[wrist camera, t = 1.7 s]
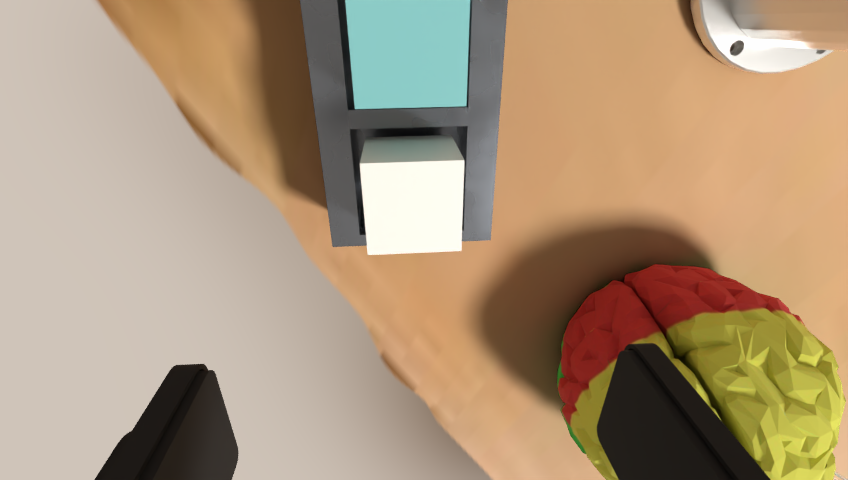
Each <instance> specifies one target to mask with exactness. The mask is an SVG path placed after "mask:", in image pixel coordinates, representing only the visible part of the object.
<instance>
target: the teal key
mask: <svg viewBox="0 0 848 480" xmlns="http://www.w3.org/2000/svg"><path fill="white" fill-rule="evenodd" d="M345 3H346V14H347V26H348V37H349V49H350V60H351V71H352V83H353V94H354V105H355V109H380V108H420V107H459V106H466V104H467V76H468V47H469V18H470V0H345Z"/></svg>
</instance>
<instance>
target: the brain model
mask: <svg viewBox="0 0 848 480" xmlns="http://www.w3.org/2000/svg"><path fill="white" fill-rule="evenodd" d="M640 343H654V344H656V345H657V346H659V347H660V348H661V350H662V351H663V352H664V353H665V354H666V356H667V357H668V358H669V359H670V360H671V362H672V363H673V364H674V365H675V366H676V367H677V369H678V370H679V371H680V372H681V373H682V375H683V376H684V377H685V378H686V379H687V381H688V382H689V383H690V384H691V385H692V387H693V388H694V389H695V390H696V391H697V392H698V394H699V395H700V396H701V397H702V398H703V400H704V401H705V402H706V403H707V404H708V406H709V407H710V408H711V409H712V410H713V412H714V413H715V414H716V415H717V416H718V417H719V419H720V420H721V421H722V422H723V423H724V425H725V426H726V427H727V428H728V429H729V431H730V432H731V433H732V434H733V435H734V436H735V438H736V439H737V440H738V441H739V442H740V444H741V445H742V446H743V447H744V448H745V450H746V451H747V452H748V453H749V454H750V456H751V457H752V458H753V459H754V460H755V461H756V463H757V464H758V465H759V466H760V467H761V469H762V470H763V471H764V472H765V473H766V475H767V476H768V477H769V478H770V479H771V480H833V478H834V474H835V470H836V467H835V457H834V455H833V453H832V451H833V449H834V448H835V446H836V445H837V443H838V434H839V426H840V422H841V418H842V414H843V410H844V406H845V402H846V400H845V397H844V394H843V390H842V383H841V380H840V378H839V376H838V374H837V372H836V371H837V369H838V365H837V362H836V360H835V357H834V355H833V352H832V351H831V350H830V349H829V348H828V347H827V346H825V345H824V344H823V343H822V342H821V341H819V340H818V339H817V338H816V337H815V336H814V335H812V334H811V333H810V332H809V331H808V330H807V328H806V327H805V325H804V323H803V322H802V320H801V319H800V317H799V316H798V315H794V314H791V312H789V308H788V307H787V306H786V305H785V304H784V303H782V302H781V301H780V300H779V299H778V298H774V297H771V296H767V295H764V294H760V293H757V292H755V291H753V290H751V289H750V288H748V287H746V286H744V285H743V284H741V283H739V282H737V281H736V280H733V279H730V278H727V277H724V276H721V275H719V274H718V273H716V272H714V271H713V270H711V269H707V268H701V267H695V266H671V265H660V264H654V265H652V266H650V267H648V268H646V269H644V270H641V271H638V272H634V273H629V274H626V275H625V278H624V283H623V282H620V281H615V280H613V281H611V282H610V283H609V284H608V285H606V286H605V287H604V288H602V289H600V290H598V291H596V292H594V293H591V294H590V295H589V296H588V297H587V298H586V299H585V301H584V302H583V304H582V305H581V306H580V308H579V309H578V311H577V312H576V313H575V315H574V316H573V317H572V319H571V320H570V322H569V323H568V325H567V328H566V331H565V333H564V335H563V340H562V344H561V353H562V358H561V361H560V365H559V368H558V374H557V386H558V394H559V396H560V398H561V399H562V401H563V402H564V403H566V404H565V405H564V406H563V407H562V408H561V413H562V415H563V417H564V420H565V422H566V424H567V427H568V430H569V433H570V436H571V437H572V438H573V440H574V441H575V442H576V444H577V445H578V447H579V448H580V449H581V451H582V452H583V453H585V454H586V455H587V457H588V458H589V460H590V461H591V462H592V463H593V465H594V466H595V467H596V468H597V470H598V471H599V472H600V473H601V475H602V476H603V477H604V478H605V479H606V480H619V479H618V477H617V475H616V473H615V471H614V469H613V468H612V466H611V464H610V462H609V460H608V458H607V456H606V454H605V452H604V450H603V448H602V446H601V444H600V442H599V439H598V436H597V424H598V420H599V417H600V414H601V410H602V407H603V404H604V401H605V397H606V394H607V391H608V387H609V384H610V381H611V377H612V374H613V371H614V367H615V364H616V361H617V358H618V354H619V352H620V351H624V349H625V347H626V346H627V345H628V344H640ZM674 358H675V359H674Z"/></svg>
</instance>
